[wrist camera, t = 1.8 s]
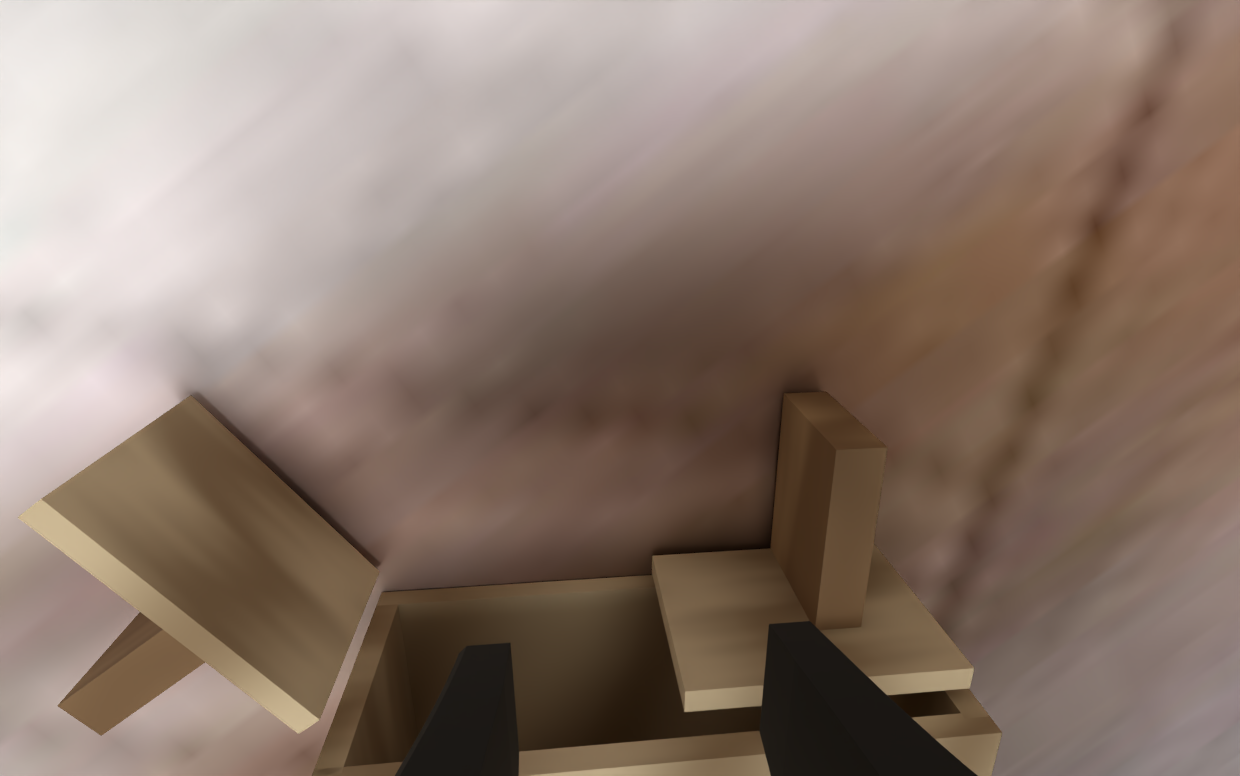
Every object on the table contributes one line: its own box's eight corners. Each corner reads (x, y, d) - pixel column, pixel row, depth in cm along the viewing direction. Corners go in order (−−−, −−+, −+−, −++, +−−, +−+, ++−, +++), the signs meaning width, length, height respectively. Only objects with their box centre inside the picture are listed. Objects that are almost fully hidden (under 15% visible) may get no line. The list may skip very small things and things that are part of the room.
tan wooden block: (35, 516, 17) (-167, 662, 12) (190, 395, 17) (40, 498, 12) (235, 672, 20) (130, 846, 15) (379, 571, 19) (319, 719, 14)
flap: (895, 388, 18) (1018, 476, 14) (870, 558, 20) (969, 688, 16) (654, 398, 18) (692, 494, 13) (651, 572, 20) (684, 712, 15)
